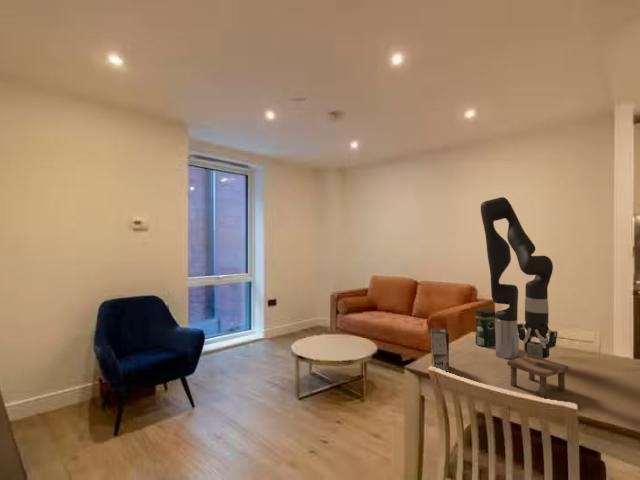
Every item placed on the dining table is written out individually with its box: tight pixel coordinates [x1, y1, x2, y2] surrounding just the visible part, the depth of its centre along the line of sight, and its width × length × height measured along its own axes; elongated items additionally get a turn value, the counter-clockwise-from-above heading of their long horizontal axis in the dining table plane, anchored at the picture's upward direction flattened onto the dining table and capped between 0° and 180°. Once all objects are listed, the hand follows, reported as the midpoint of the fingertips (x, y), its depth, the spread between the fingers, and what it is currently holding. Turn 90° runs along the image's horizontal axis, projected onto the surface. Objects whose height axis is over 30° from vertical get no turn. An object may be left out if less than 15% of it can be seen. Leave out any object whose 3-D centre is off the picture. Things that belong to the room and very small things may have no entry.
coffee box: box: [430, 327, 450, 373], centre depth 156 cm, size 9×6×16 cm
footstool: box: [506, 355, 569, 399], centre depth 135 cm, size 14×14×9 cm
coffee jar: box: [474, 307, 496, 348], centre depth 186 cm, size 10×8×19 cm
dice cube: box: [526, 340, 545, 360], centre depth 135 cm, size 5×5×5 cm
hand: (536, 355), depth 135 cm, fingers closed on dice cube, 5 cm apart
